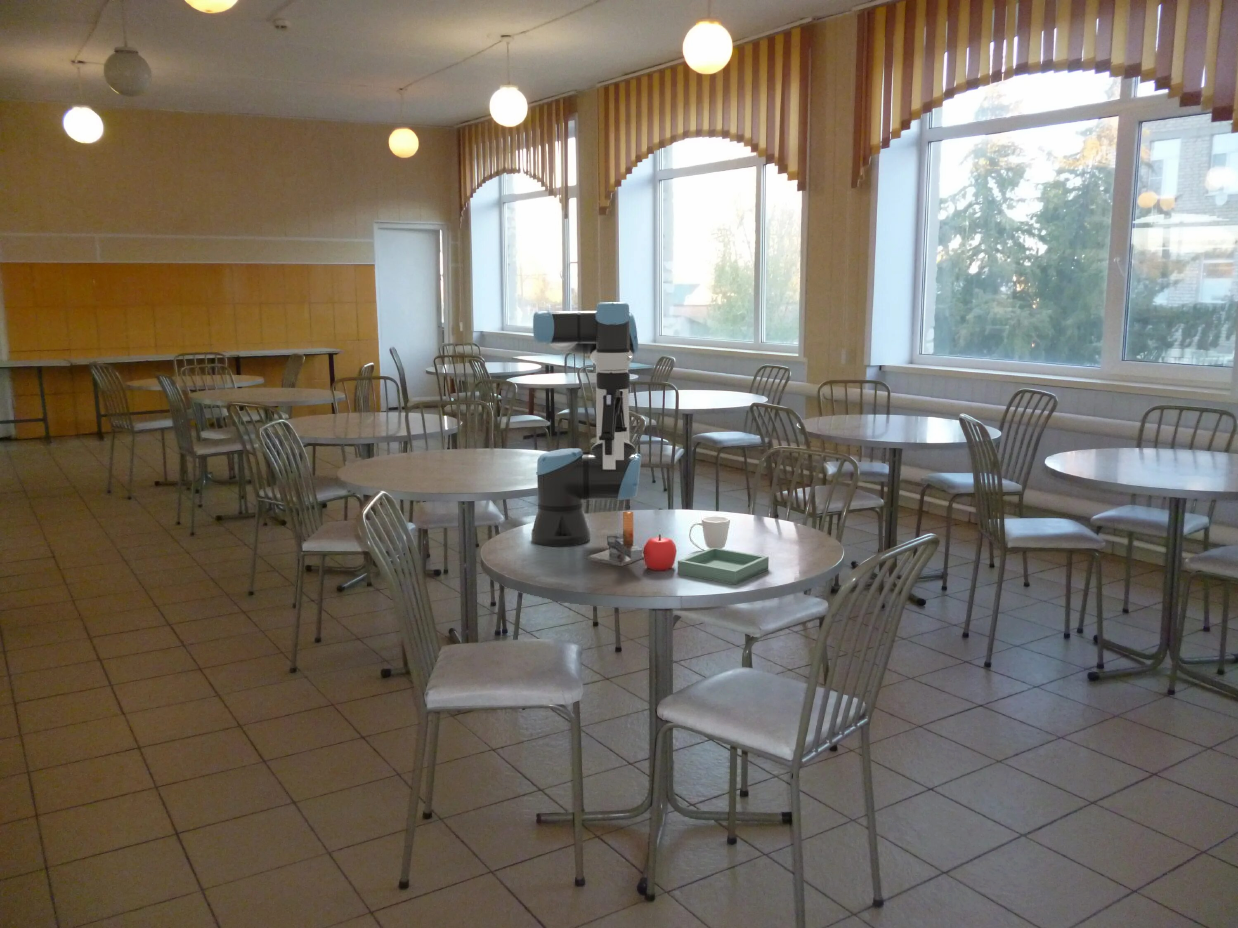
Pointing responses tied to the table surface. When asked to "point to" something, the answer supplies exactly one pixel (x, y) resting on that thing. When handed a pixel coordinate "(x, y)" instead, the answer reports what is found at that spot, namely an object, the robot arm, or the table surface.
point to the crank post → (612, 557)
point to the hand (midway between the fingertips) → (613, 464)
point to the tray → (723, 565)
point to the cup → (713, 531)
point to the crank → (626, 538)
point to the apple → (659, 553)
